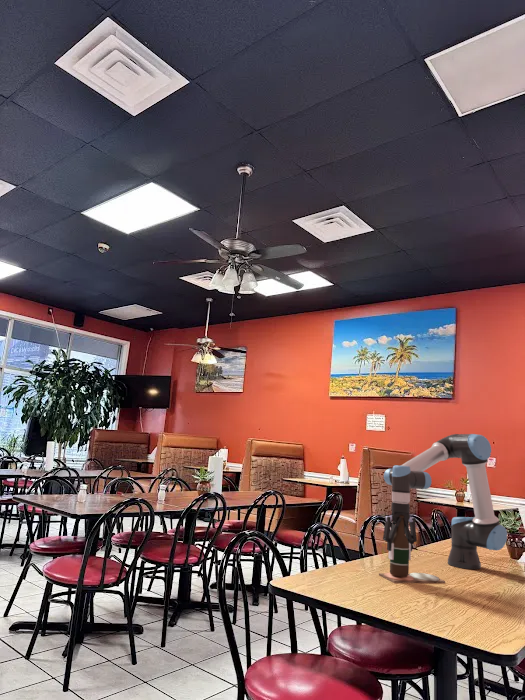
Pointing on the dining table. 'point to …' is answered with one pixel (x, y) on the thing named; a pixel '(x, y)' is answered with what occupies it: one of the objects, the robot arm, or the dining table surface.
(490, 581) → the dining table surface
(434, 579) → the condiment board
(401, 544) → the beer bottle
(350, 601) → the dining table surface
